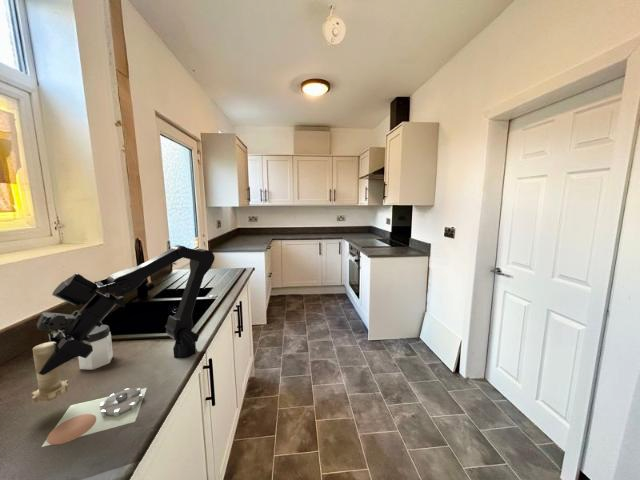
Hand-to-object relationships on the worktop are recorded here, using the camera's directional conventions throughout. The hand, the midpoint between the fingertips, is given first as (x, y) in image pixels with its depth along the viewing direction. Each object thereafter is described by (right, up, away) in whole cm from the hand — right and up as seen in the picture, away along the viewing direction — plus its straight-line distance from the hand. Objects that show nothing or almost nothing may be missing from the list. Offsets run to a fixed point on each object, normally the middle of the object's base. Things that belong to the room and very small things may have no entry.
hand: (39, 370), depth 63 cm
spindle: (+1, -7, +2) cm, 7 cm away
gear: (+17, -11, +5) cm, 21 cm away
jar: (-8, -10, +25) cm, 28 cm away
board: (+14, -13, +2) cm, 19 cm away
